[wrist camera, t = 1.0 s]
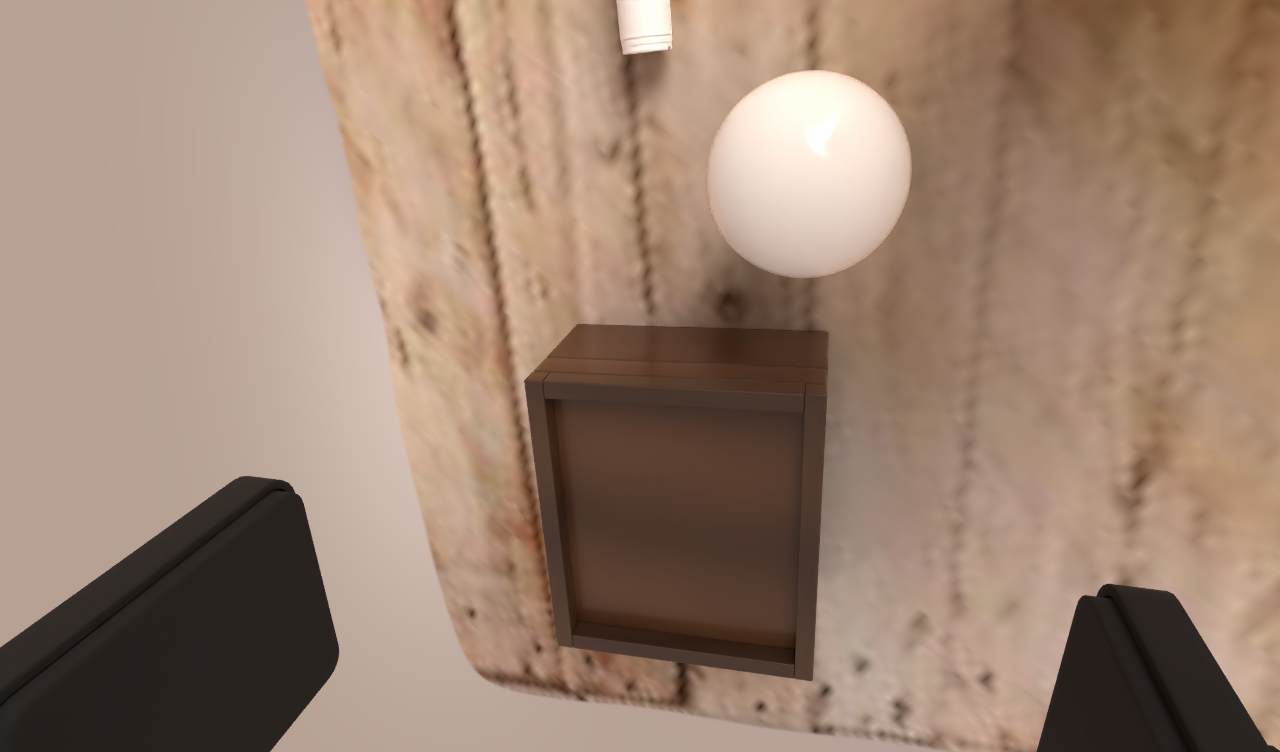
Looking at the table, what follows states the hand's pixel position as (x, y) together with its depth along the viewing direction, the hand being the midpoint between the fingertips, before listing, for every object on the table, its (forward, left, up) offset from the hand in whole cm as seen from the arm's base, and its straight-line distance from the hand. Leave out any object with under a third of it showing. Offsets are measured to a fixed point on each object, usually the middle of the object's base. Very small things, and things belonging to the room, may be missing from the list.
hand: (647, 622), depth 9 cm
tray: (+13, -4, -26) cm, 29 cm away
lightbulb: (-2, +1, -26) cm, 26 cm away
